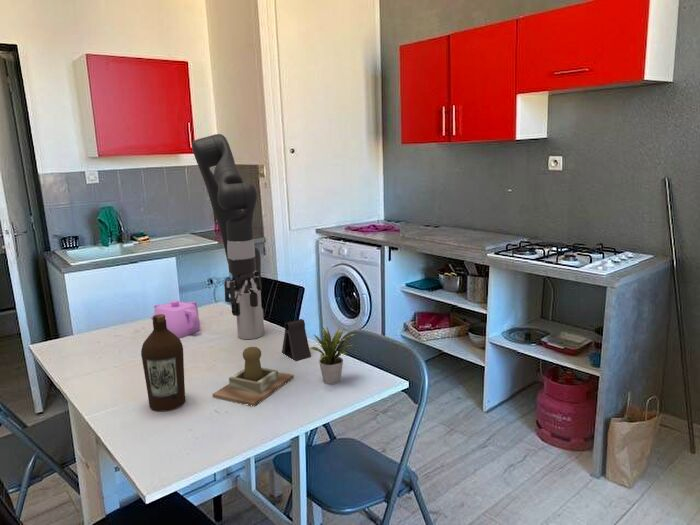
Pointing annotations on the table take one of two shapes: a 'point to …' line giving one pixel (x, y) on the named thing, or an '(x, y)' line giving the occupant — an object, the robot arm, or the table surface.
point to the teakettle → (180, 317)
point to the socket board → (252, 387)
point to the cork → (252, 364)
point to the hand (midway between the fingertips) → (245, 310)
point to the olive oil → (163, 367)
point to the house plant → (331, 356)
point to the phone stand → (295, 340)
